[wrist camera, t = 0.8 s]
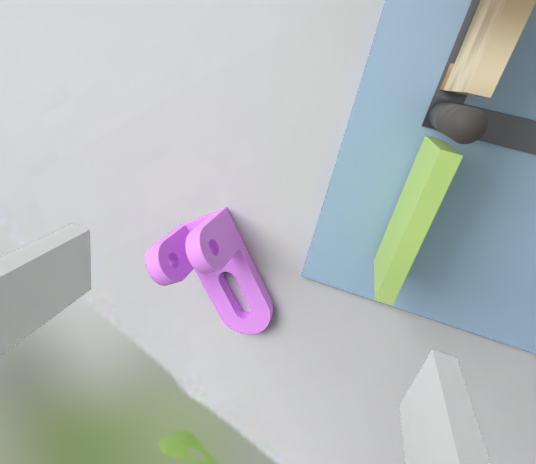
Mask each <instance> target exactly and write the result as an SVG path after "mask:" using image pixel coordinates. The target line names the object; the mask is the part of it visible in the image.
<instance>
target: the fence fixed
mask: <svg viewBox="0 0 536 464" xmlns="http://www.w3.org/2000/svg"><path fill="white" fill-rule="evenodd" d="M535 3H536V0H480V3H479V5H478V7H477V10H476V12H475V15H474V17H473V20H472V22H471V24H470V27H469V29H468V32H467V34H466V37H465V39H464V42H463V44H462V46H461V49H460V51H459V54H458V56H457V59H456V61H455V63H454V64H452V63H450V65H449V68H448V70H447V72H446V75H445V77H444V80H443V82H442V85H441V87H440V90H444V91H449V92H453V93H457V94H462V95H470V96H479V97H487V98H491V96H492V94H493V92H494V90H495V88H496V86H497V84H498V81H499V79H500V77H501V75H502V73H503V71H504V69H505V67H506V65H507V62H508V60H509V58H510V56H511V54H512V52H513V50H514V48H515V46H516V43H517V41H518V39H519V37H520V35H521V33H522V31H523V29H524V26H525V24H526V22H527V20H528V18H529V16H530V14H531V12H532V10H533V7H534V5H535ZM428 121H429V123H430V125H431V126H433V127H434V128H436V129H437V130H439V131H440V132H442V133H443V134H445V135H446V136H447V137H449V138H450V139H452V140H453V141H455V142H457V143H459V144H470V143H473V142H475V141H477V140H478V139H480V138H481V137H482V136H483V135H484V133H485V132H486V129H487V126H488V119H487V116H486V114H485V113H484V112H483V111H482V110H480V109H477V108H474V107H469V106H465V105H461V104H456V103H452V102H448V101H442V102H438V103H436V104H435V105H433V106H432V108H431V109H430V111H429V113H428Z"/></svg>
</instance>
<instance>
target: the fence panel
mask: <svg viewBox="0 0 536 464" xmlns="http://www.w3.org/2000/svg"><path fill="white" fill-rule="evenodd" d="M462 158H463V155H462V154H461V153H459V152H458V151H457V150H455V149H454V148H453V147H451V146H450V145H449V144H448V143H446V142H445V141H444V140H442V139H438V138H434V137H430V136H426V135H425V136H424V139H423V141H422V144H421V146H420V149H419V151H418V153H417V156H416V158H415V161H414V163H413V166H412V168H411V171H410V173H409V175H408V178H407V180H406V183H405V185H404V188H403V190H402V192H401V195H400V197H399V200H398V202H397V205H396V207H395V209H394V212H393V214H392V217H391V219H390V222H389V224H388V227H387V229H386V231H385V234H384V236H383V239H382V241H381V244H380V246H379V248H378V251H377V253H376V256H375V258H374V287H375V300H376V301H379V302H382V303H385V304H388V305H391V306H393V304H394V301H395V299H396V297H397V295H398V293H399V291H400V289H401V287H402V285H403V282H404V280H405V278H406V276H407V274H408V272H409V270H410V268H411V265H412V263H413V261H414V259H415V257H416V255H417V253H418V251H419V249H420V246H421V244H422V242H423V240H424V238H425V236H426V234H427V232H428V230H429V227H430V225H431V223H432V221H433V219H434V217H435V215H436V213H437V210H438V208H439V206H440V204H441V202H442V200H443V198H444V196H445V194H446V191H447V189H448V187H449V185H450V183H451V181H452V179H453V177H454V175H455V172H456V170H457V168H458V166H459V164H460V162H461V160H462Z"/></svg>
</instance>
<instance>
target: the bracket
mask: <svg viewBox="0 0 536 464" xmlns="http://www.w3.org/2000/svg"><path fill="white" fill-rule="evenodd" d="M145 261H146V268H147V271H148V273H149V275H150V277H151V278H152V279H153V280H154V281H155V282H156V283H157V284H159V285H163V286H166V285H170V284H173V283H177V282H180V281H182V280H183V279H185V277H186V276H187V275H188V274H189V273H190V272H191V271H192V270H193V269H195V271H196V273H197V275H198V276H199V278H200V280H201V282H202V284H203V286H204V288H205V289H206V291H207V293H208V295H209V297H210V299H211V301H212V302H213V304H214V306H215V308H216V310H217V312H218V314H219V315H220V317H221V319H222V320H223V322H224V323H225V324H226V325H227V326H228V327H230V328H231V329H233V330H234V331H237V332H239V333H242V334H256V333H259V332H261V331H263V330H264V329H265V328H266V327H267V326H268V324H269V322H270V319H271V317H272V314H273V303H272V300H271V298H270V296H269V293H268V291H267V289H266V287H265V285H264V283H263V281H262V279H261V277H260V275H259V273H258V271H257V269H256V266H255V264H254V262H253V260H252V258H251V256H250V254H249V252H248V250H247V248H246V246H245V244H244V242H243V239H242V237H241V235H240V233H239V231H238V229H237V227H236V225H235V223H234V221H233V219H232V217H231V215H230V212H229V210H228V208H227V207H225V208H223V209H220V210H217V211H215V212H212V213H210V214H207V215H204V216H202V217H199V218H196V219H194V220H191V221H188V222H186V223H183V224H180V225H179V226H177V227H176V228H175V229H173V230H172V231H171V232H169V233H168V234H167V235H165V236H164V237H163V238H161V239H160V240H159V241H157V242H156V243H155V244H153V245H152V246H151V247H150V248H149V249H148V251H147V253H146V259H145ZM223 272H229V273H231V274H232V275H234V277H235V278H236V280H237V282H238V284H239V286H240V288H241V290H242V292H243V294H244V296H245V298H246V300H247V302H248V304H249V306H250V308H251V310H252V312H246V311H244V310H242V309H241V308H240V306H239V304H238V302H237V300H236V299H235V297H234V295H233V293H232V291H231V289H230V287H229V285H228V283H227V281H226V279H225V277H224V275H223Z"/></svg>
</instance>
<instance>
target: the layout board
mask: <svg viewBox="0 0 536 464" xmlns="http://www.w3.org/2000/svg"><path fill="white" fill-rule="evenodd" d="M479 3H480V0H386V1H385V4H384V7H383V10H382V14H381V17H380V20H379V23H378V27H377V30H376V33H375V37H374V40H373V43H372V46H371V50H370V53H369V56H368V59H367V63H366V66H365V69H364V72H363V76H362V79H361V82H360V85H359V89H358V92H357V95H356V98H355V102H354V105H353V108H352V111H351V115H350V118H349V121H348V125H347V128H346V131H345V134H344V138H343V141H342V144H341V147H340V151H339V154H338V157H337V160H336V164H335V167H334V170H333V173H332V177H331V180H330V183H329V186H328V190H327V193H326V196H325V200H324V203H323V206H322V209H321V213H320V216H319V219H318V222H317V226H316V229H315V232H314V235H313V239H312V242H311V245H310V248H309V252H308V255H307V258H306V261H305V265H304V268H303V271H302V275H301V276H302V277H305V278H308V279H311V280H314V281H317V282H320V283H323V284H326V285H329V286H332V287H335V288H338V289H341V290H344V291H347V292H350V293H353V294H356V295H359V296H362V297H365V298H368V299H371V300H374V301H376V300H375V287H374V258H375V256H376V253H377V251H378V248H379V246H380V244H381V241H382V239H383V236H384V234H385V231H386V229H387V227H388V224H389V222H390V219H391V217H392V214H393V212H394V209H395V207H396V205H397V202H398V200H399V197H400V195H401V192H402V190H403V188H404V185H405V183H406V180H407V178H408V175H409V173H410V171H411V168H412V166H413V163H414V161H415V158H416V156H417V153H418V151H419V149H420V146H421V144H422V141H423V139H424V136H425V135H426V136H430V137H434V138H438V139H442V140H444V141H445V142H446V143H448V144H449V145H450V146H451V147H453V148H454V149H455V150H457V151H458V152H459V153H461V154H462V155H463V158H462V160H461V162H460V164H459V166H458V168H457V170H456V172H455V175H454V177H453V179H452V181H451V183H450V185H449V187H448V189H447V191H446V194H445V196H444V198H443V200H442V202H441V204H440V206H439V208H438V210H437V213H436V215H435V217H434V219H433V221H432V223H431V225H430V227H429V230H428V232H427V234H426V236H425V238H424V240H423V242H422V244H421V246H420V249H419V251H418V253H417V255H416V257H415V259H414V261H413V263H412V265H411V268H410V270H409V272H408V274H407V276H406V278H405V280H404V282H403V285H402V287H401V289H400V291H399V293H398V295H397V297H396V299H395V301H394V304H393V306H392V307H395V308H398V309H401V310H404V311H407V312H410V313H413V314H416V315H419V316H422V317H426V318H429V319H432V320H435V321H438V322H441V323H444V324H447V325H450V326H453V327H456V328H459V329H462V330H465V331H468V332H471V333H474V334H477V335H480V336H483V337H486V338H489V339H492V340H495V341H498V342H501V343H504V344H507V345H510V346H513V347H516V348H519V349H522V350H525V351H528V352H531V353H534V354H536V3H535V5H534V7H533V10H532V12H531V14H530V16H529V18H528V20H527V22H526V24H525V26H524V29H523V31H522V33H521V35H520V37H519V39H518V41H517V43H516V46H515V48H514V50H513V52H512V54H511V56H510V58H509V60H508V62H507V65H506V67H505V69H504V71H503V73H502V75H501V77H500V79H499V81H498V84H497V86H496V88H495V90H494V92H493V94H492V96H491V98H487V97H479V96H470V95H462V94H457V93H453V92H449V91H444V90H440V87H441V85H442V82H443V80H444V77H445V75H446V72H447V70H448V68H449V65H450V63H452V64H454V63H455V61H456V59H457V56H458V54H459V51H460V49H461V46H462V44H463V42H464V39H465V37H466V34H467V32H468V29H469V27H470V24H471V22H472V20H473V17H474V15H475V12H476V10H477V7H478V5H479ZM442 101H448V102H452V103H456V104H461V105H465V106H469V107H474V108H477V109H480V110H482V111H483V112H484V113H485V114H486V116H487V119H488V126H487V129H486V132H485V133H484V135H483V136H482V137H481V138H480V139H478V140H477V141H475V142H473V143H470V144H459V143H457V142H455V141H453V140H452V139H450V138H449V137H447V136H446V135H445V134H443V133H442V132H440V131H439V130H437V129H436V128H434V127H433V126H431V125H430V123H429V121H428V113H429V111H430V109H431V108H432V106H433V105H435V104H436V103H438V102H442ZM377 302H379V301H377ZM380 303H382V302H380ZM383 304H385V303H383ZM386 305H388V304H386ZM389 306H391V305H389Z"/></svg>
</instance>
